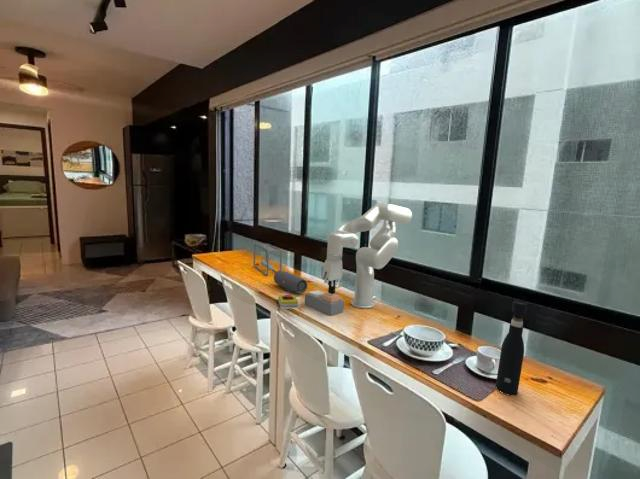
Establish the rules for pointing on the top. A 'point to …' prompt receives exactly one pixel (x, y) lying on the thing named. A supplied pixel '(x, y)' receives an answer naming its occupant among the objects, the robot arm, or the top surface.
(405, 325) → the top surface
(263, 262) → the newton's cradle
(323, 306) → the key box
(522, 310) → the black water bottle
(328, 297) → the key terracotta
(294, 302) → the emergency button
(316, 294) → the key white
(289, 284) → the bluetooth speaker
